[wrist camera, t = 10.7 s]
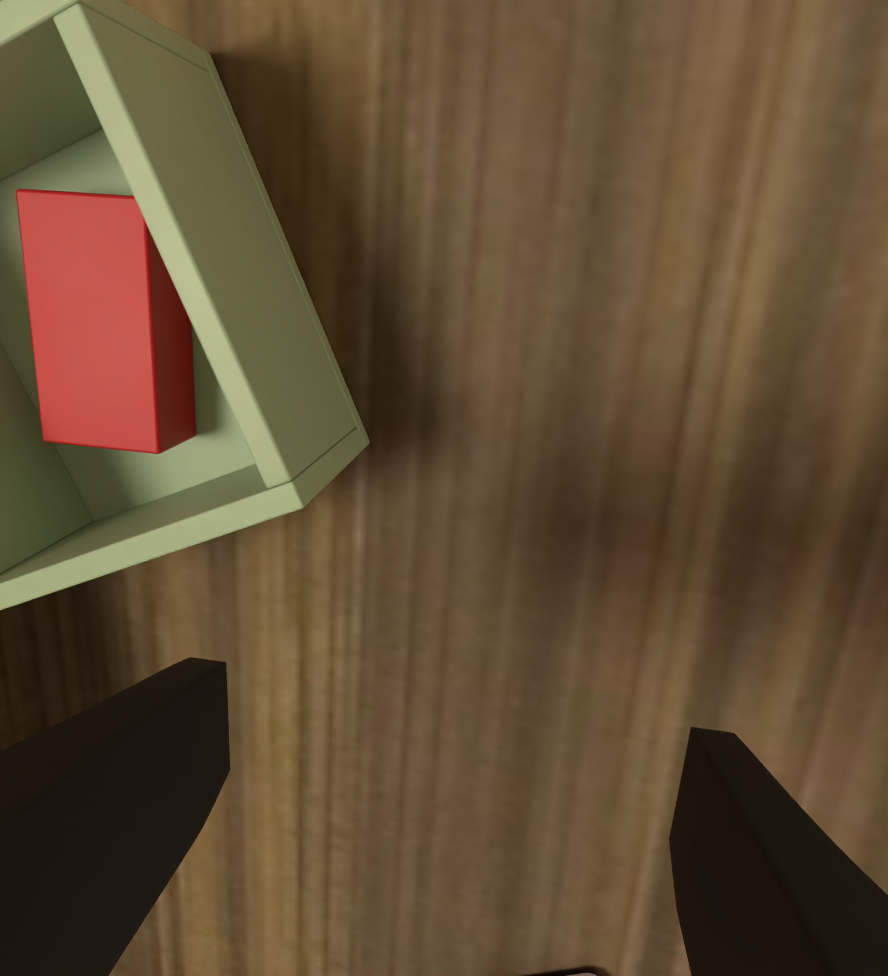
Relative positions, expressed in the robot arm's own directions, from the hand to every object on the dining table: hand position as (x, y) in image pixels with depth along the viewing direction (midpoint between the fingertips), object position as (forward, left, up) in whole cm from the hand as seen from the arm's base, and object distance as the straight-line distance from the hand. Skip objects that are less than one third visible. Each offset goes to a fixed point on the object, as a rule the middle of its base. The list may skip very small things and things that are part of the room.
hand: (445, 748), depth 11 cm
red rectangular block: (+9, +7, -9) cm, 14 cm away
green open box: (+9, +7, -9) cm, 14 cm away
